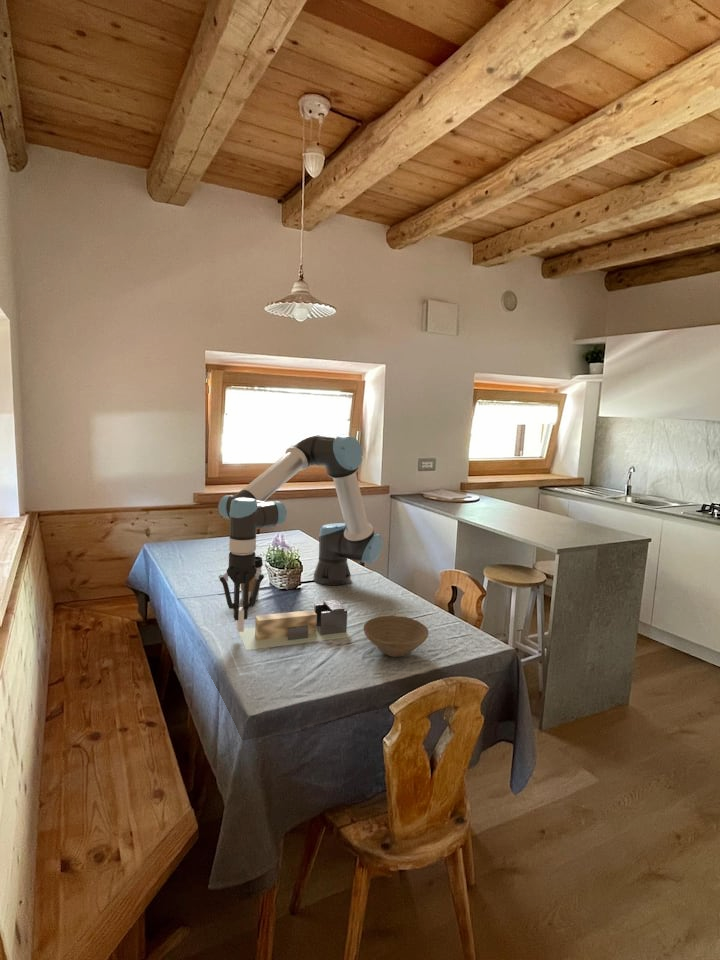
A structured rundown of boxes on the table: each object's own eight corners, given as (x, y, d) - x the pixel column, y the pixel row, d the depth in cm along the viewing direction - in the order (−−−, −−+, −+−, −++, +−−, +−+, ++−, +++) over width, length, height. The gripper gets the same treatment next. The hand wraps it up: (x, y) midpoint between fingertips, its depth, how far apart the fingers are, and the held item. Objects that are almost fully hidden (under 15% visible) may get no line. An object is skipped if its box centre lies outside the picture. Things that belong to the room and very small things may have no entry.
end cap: (321, 635, 162) (322, 610, 161) (313, 625, 169) (314, 601, 168) (346, 632, 165) (347, 608, 164) (337, 622, 172) (338, 599, 171)
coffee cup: (256, 603, 186) (257, 562, 184) (234, 600, 188) (234, 559, 186) (265, 595, 194) (266, 556, 193) (243, 593, 196) (244, 553, 194)
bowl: (408, 676, 140) (410, 647, 139) (350, 656, 150) (351, 629, 149) (436, 651, 156) (438, 625, 155) (382, 634, 165) (383, 610, 164)
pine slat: (312, 628, 167) (312, 609, 166) (316, 633, 163) (316, 614, 162) (255, 634, 160) (255, 615, 159) (257, 640, 156) (258, 620, 156)
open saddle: (299, 625, 168) (299, 615, 168) (308, 637, 160) (308, 626, 159) (280, 627, 166) (281, 617, 165) (288, 640, 157) (288, 629, 157)
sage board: (334, 619, 176) (334, 618, 176) (351, 637, 162) (351, 636, 162) (237, 630, 164) (237, 629, 163) (246, 651, 150) (246, 650, 150)
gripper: (262, 547, 159) (259, 622, 162) (217, 549, 154) (215, 627, 157) (267, 554, 152) (264, 632, 155) (221, 556, 147) (219, 637, 150)
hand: (240, 629), depth 156 cm, fingers closed
